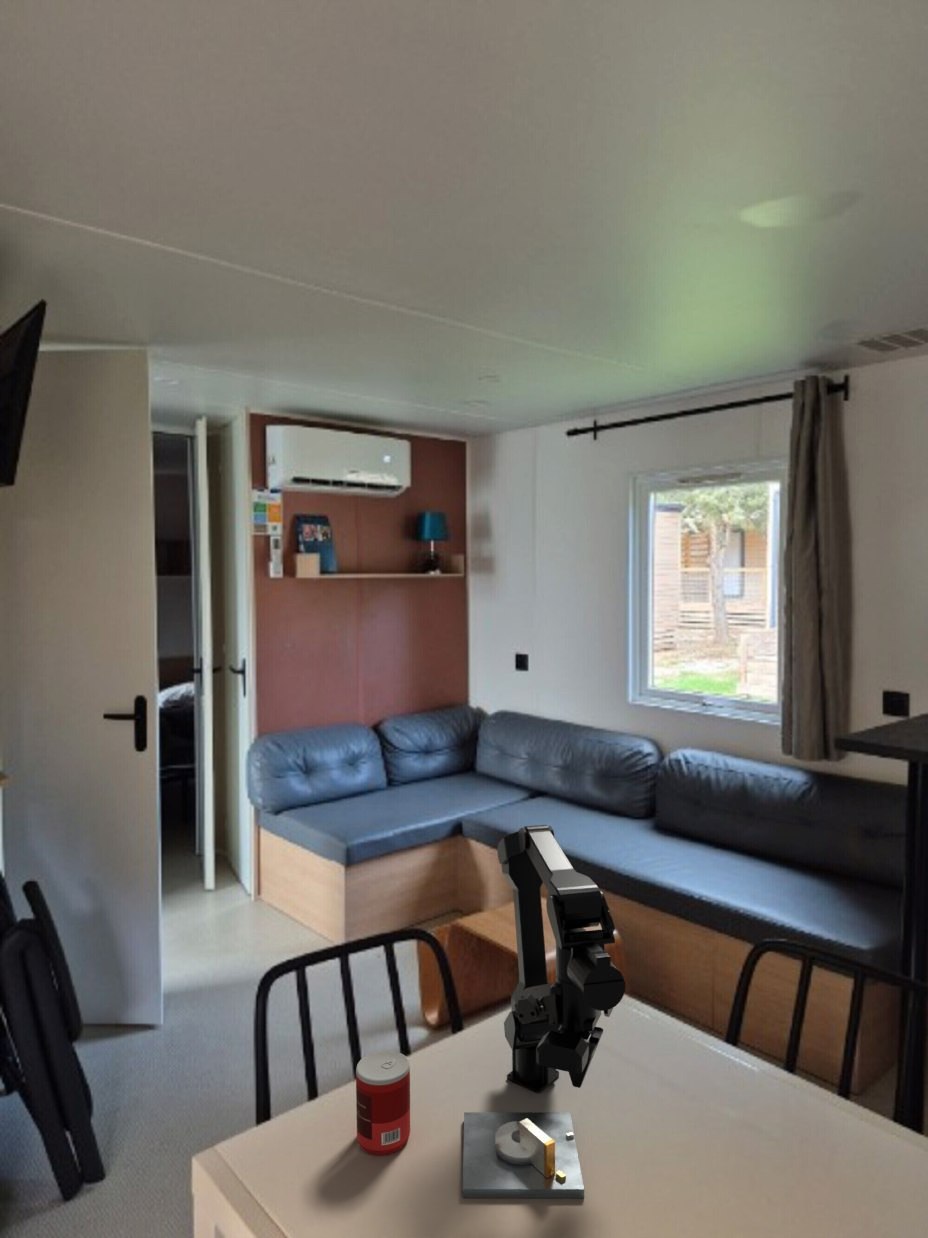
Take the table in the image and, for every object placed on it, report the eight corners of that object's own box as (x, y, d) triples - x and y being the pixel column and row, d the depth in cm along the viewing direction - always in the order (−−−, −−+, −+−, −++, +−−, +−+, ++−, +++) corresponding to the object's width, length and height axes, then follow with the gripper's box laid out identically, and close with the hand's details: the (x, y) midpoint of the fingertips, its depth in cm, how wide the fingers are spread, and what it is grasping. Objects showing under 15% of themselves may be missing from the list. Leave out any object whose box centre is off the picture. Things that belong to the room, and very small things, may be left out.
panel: (462, 1198, 108) (462, 1185, 108) (464, 1120, 124) (464, 1108, 124) (584, 1198, 108) (584, 1185, 108) (570, 1120, 124) (570, 1108, 124)
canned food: (419, 1129, 122) (419, 1057, 121) (392, 1163, 115) (392, 1086, 114) (375, 1116, 125) (374, 1045, 125) (346, 1148, 118) (345, 1073, 117)
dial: (485, 1143, 117) (485, 1112, 117) (524, 1125, 121) (524, 1096, 120) (530, 1186, 108) (530, 1153, 108) (570, 1166, 112) (570, 1134, 112)
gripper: (541, 940, 125) (542, 1041, 126) (498, 995, 108) (499, 1111, 109) (613, 952, 121) (614, 1056, 121) (580, 1010, 104) (581, 1131, 104)
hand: (577, 1086), depth 114 cm, fingers closed
